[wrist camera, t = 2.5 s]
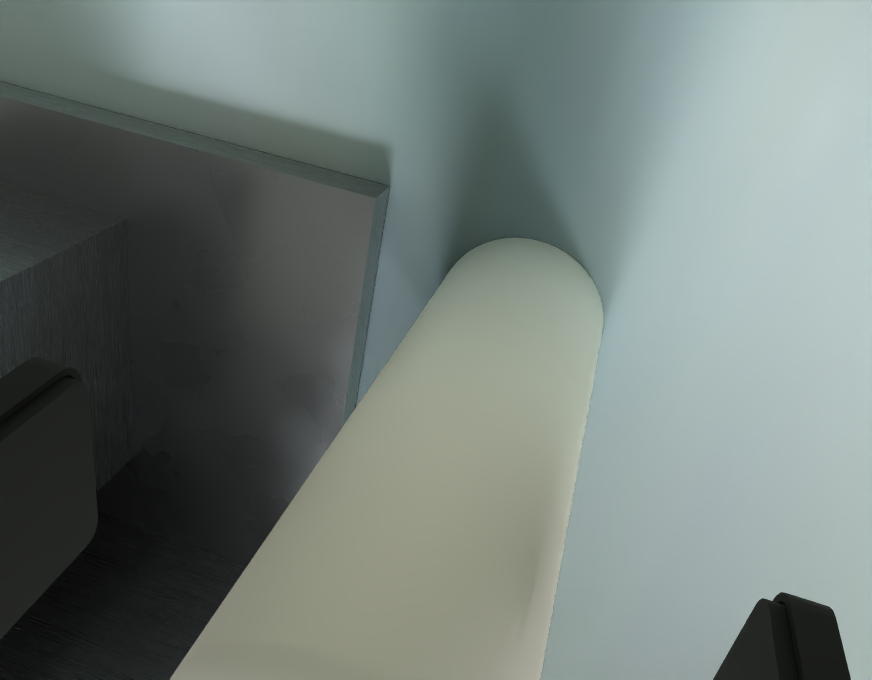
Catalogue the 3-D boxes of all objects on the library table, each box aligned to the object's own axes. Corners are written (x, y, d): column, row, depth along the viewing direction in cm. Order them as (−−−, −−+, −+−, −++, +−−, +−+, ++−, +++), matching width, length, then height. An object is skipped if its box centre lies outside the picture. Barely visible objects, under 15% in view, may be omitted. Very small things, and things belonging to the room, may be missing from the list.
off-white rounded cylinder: (640, 322, 18) (597, 841, 7) (521, 417, 20) (358, 931, 9) (515, 202, 17) (284, 578, 7) (406, 312, 19) (102, 732, 9)
